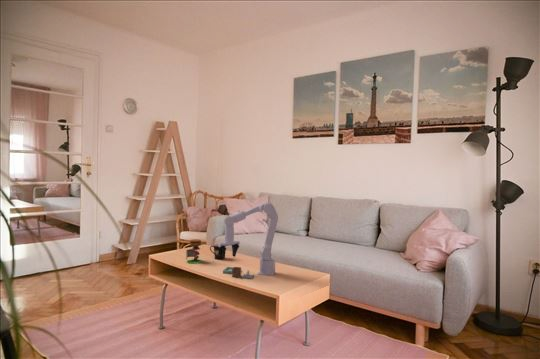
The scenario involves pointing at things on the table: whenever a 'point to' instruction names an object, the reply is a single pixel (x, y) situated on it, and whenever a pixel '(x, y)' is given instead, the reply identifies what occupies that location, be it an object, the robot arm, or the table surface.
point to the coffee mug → (217, 252)
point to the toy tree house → (194, 252)
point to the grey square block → (247, 275)
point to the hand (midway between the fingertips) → (228, 257)
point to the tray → (228, 270)
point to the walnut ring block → (236, 272)
